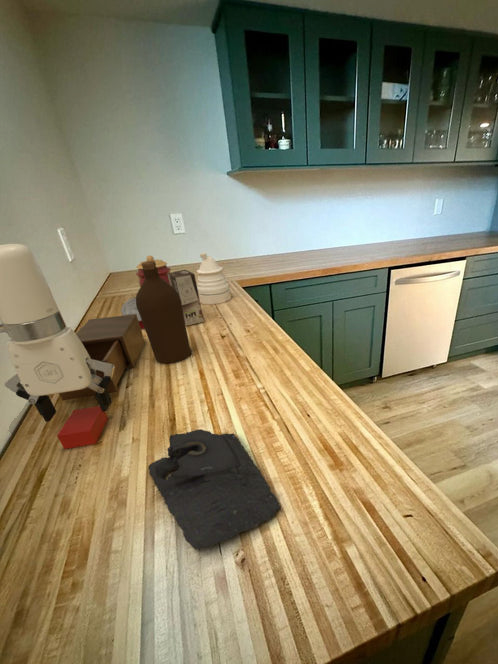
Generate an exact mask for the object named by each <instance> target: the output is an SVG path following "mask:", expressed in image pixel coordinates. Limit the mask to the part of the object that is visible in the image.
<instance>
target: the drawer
mask: <svg viewBox="0 0 498 664" xmlns="http://www.w3.org/2000/svg"><path fill="white" fill-rule="evenodd" d="M83 345H84V347H85V349H86V350H87V352H88V354H89V356H90V358H91V359H93V360H97V361H101V362H106V363H110V364H113V365H114V366H115V368H114V372H113V377H112V379H111V381H110V383H109V384H108V386H107V389H108V392H109V394H110V395H111V394H115V393H118V392H119V387H118V383H119V382H120V380H121V378H122V375H123V373H124V371H125V370H126V369H125V367H126V365H127V363H128V360H127V357H126V355H125V352H124V349H123V346H122V343H121V340H112V341H104V342H96V343H88V344H83ZM96 375H97V376H99V377H101V378H102V379H103V378H104V372H103V371H99V370H96ZM95 394H96V391H94V390H92V389H90V388H89V387H86V388H84V389H81V390H75V391H69V392H63V393H58V395H59V396H60V398H61V401H69V400H75V399H76V400H77V399H83V398H90V397H95Z"/></svg>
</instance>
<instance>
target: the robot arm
mask: <svg viewBox="0 0 498 664" xmlns="http://www.w3.org/2000/svg"><path fill="white" fill-rule="evenodd" d="M0 321H1V323H0V334H1V333H5V334H7V335H8V337H9V338H10V339H8V341H6V345H7V350H8V352H9V356H10V359H11V362H12V365H13V368H14V370H15V372H16V373H15V374H14V375H12V376H11V377H10V378H9V379H8V380H7V381H5V383H4V386H5V387H6V388H7V389H9V390H10V391H11V392H13V393H15V395H16V396H17V397H19V398H22V399H24V400H26V401H28V403H29V404H30V405H34V406H35V408H36V410H37V412H38V413H39V415H40V416H41V417H42V419H43V421H44V422H50V421H51V420H52V419H53V418H54V416H55V415H56V413H57V409H56V407H55V406H54V403H53V402H52V400H51V398H50V396H49V395H55V394H56V395H57V394H59V393H63V392H69V391H75V390H81V389H84V388H86V387H89V388H90V389H92V390H94V391H96V394H95V396H94V397H95V399H96V401H97V403H98V406H100V408H101V410H102V411H103V412H106V413H107V412H108V411H109V408H110V406H111V405H112V402H113V400H112V399H113V398H112V397H111V393H110V394H109V392H108V389H107V386H108V384H109V383H110V381H111V379H112V377H113V372H114V368H115V366H114V365H113V364H110V363H106V362H101V361H97V360H93V359H91V358H90V356H89V354H88V352H87V350H86V349H85V347H84V345H83V344H82V342H81V341H80V339H79V338H78V336H77V335H76V332H75V331H74V330H73V328H72V327H71V326H70V327H68V326H67V324H66V322H65V320H64V318H63V316H62V313H61V310H60V309H59V307H58V305H57V301H56V300H55V298H54V296H53V293H52V291H51V289H50V287H49V285H48V282H47V280H46V278H45V276H44V274H43V270H42V268H41V266H40V264H39V262H38V259H37V257H36V255H35V253H34V252H33V251H32V249H31V248H30V247H28V246H27V245H25V244H21V243H5V244H0ZM96 370H99V371H103V372H104V378H103V379H102V378H101V377H99V376H97V375H96Z"/></svg>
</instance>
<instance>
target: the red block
mask: <svg viewBox="0 0 498 664" xmlns="http://www.w3.org/2000/svg"><path fill="white" fill-rule="evenodd" d="M108 420H109V417H108V414H107V411H106V412H103V411H102V410H101V408H100V406H99V405H98V406H92V407H84V408H78V409H73V410H72V412H71V413H70V415H69V416H68V418H67V420H66V421H65V422H64V424H63V426H62V428H61V429H60V431H59V432H58V434H57V435H56V437H57V438H58V441H59V442H60V444H61V446H62V448H63V449H64V450H67V449H74V448H78V447H79V448H80V447H85V446H90V445H91V446H92V445H96V444H98V441H99V438H100V437H101V434H102V432H103V430H104V428H105V426H106V424H107V422H108Z"/></svg>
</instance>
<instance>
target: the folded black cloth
mask: <svg viewBox="0 0 498 664" xmlns="http://www.w3.org/2000/svg"><path fill="white" fill-rule="evenodd" d="M168 440H169V441H168V442H169V446H168V447H167V449H166V451H167V456H168V457H165V456H164V457H161V458H160V459H157V460H155V461H154V462H151V463H149V465H148V468H147V469H148V471H149V476H151V478H152V480H153V483H154V485H155V487H156V488H157V490H158V492H159V494H160V495H161V497H162V498H163V501H164V504H165V505H166V507H167V509H168V511H169V513H170V514H171V515H172V517H174V520H175V521H176V524H178V525H177V526H178V527H179V528H180V529H181V530H182V533H183V537H184V540H185V541H186V543H188V544H190V546H191V547H192V548H193V549H194V550H197V551H202V550H204V549H207V548H210V547H212V546H213V545H215V544H218V543H221V542H223V541H226V540H229V539H232V537H236V536H237V535H239V534H241V533H242V532H246V531H250V530H252V529H255V528H256V527H258V526H259V525H261V524H263V523H264V522H267V521H269V520H271V518H272V517H274V516H275V515H276V514H277V511H279V510H282V506H281V504H280V502H279V500H278V498H277V496H276V495H275V494H274V493H273V492H272V491H271V487H270V485H269V484H268V481H267V480H265V477H264V476H263V474H262V473H261V471H260V469H259V467H258V466H257V465H256V463H254V460H253V459H252V458H251V456H250V455H249V453H248V451H247V450H246V449H245V446H244V445H243V444H242V443H241V441H240V440H239V439H238V437H237V435H236V434H235V433H222V434H218V433H212V432H211V431H209V430H205V429H195V430H191V431H188V432H184V433H175V434H170V435H169V439H168ZM167 476H168V477H167ZM166 477H167V478H166Z"/></svg>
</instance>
